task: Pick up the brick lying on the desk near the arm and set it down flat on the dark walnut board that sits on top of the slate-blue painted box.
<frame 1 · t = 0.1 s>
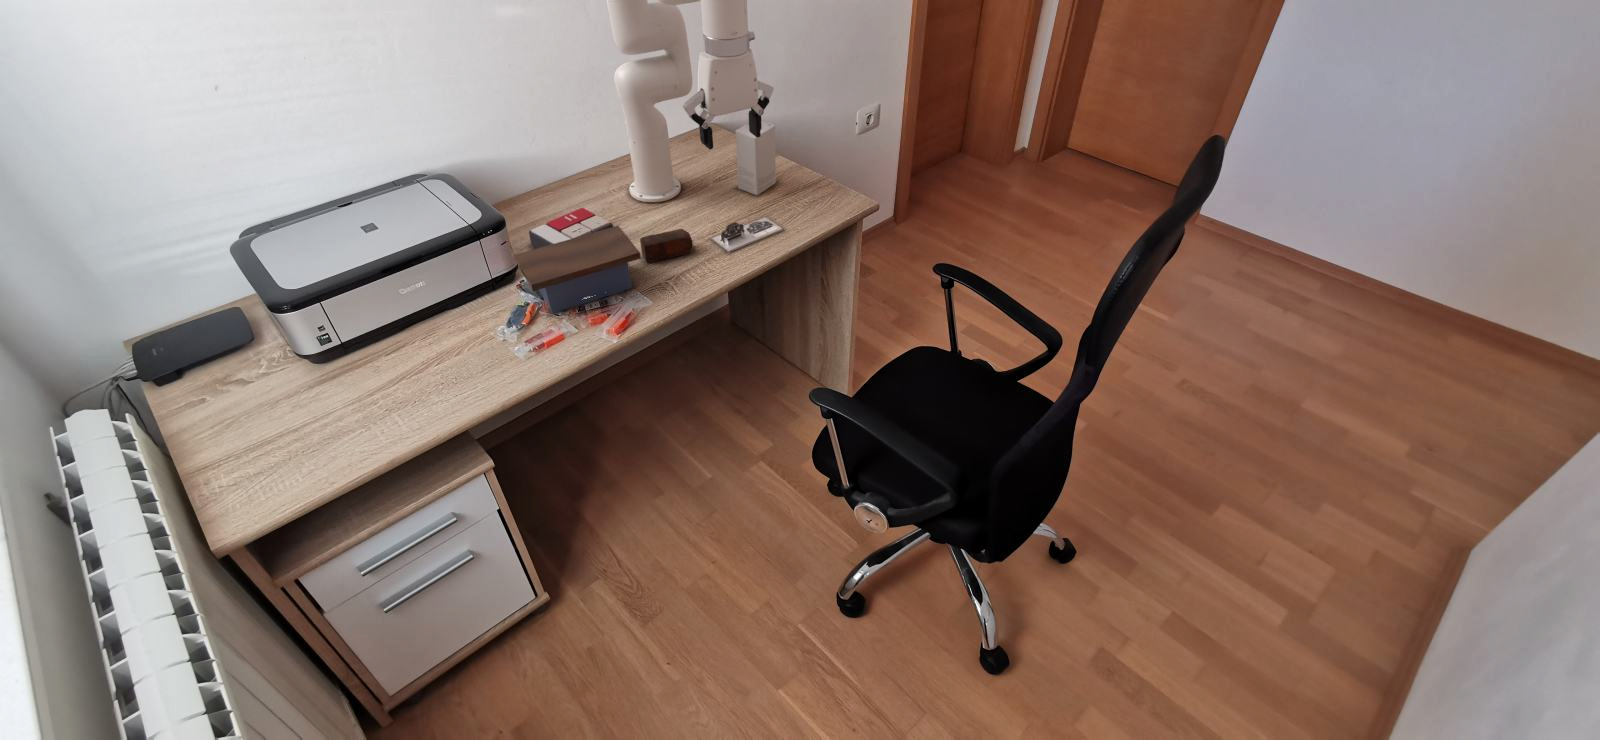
hand: (731, 140, 137), 31 cm above the table, tool pointing down, fingers open, 9 cm apart
cosmetic box: (757, 187, 188), on the table
blue box: (584, 288, 155), on the table
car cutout: (747, 235, 171), on the table
brick: (667, 255, 165), on the table
board: (578, 259, 150), resting on blue box
button pad: (574, 241, 169), on the table
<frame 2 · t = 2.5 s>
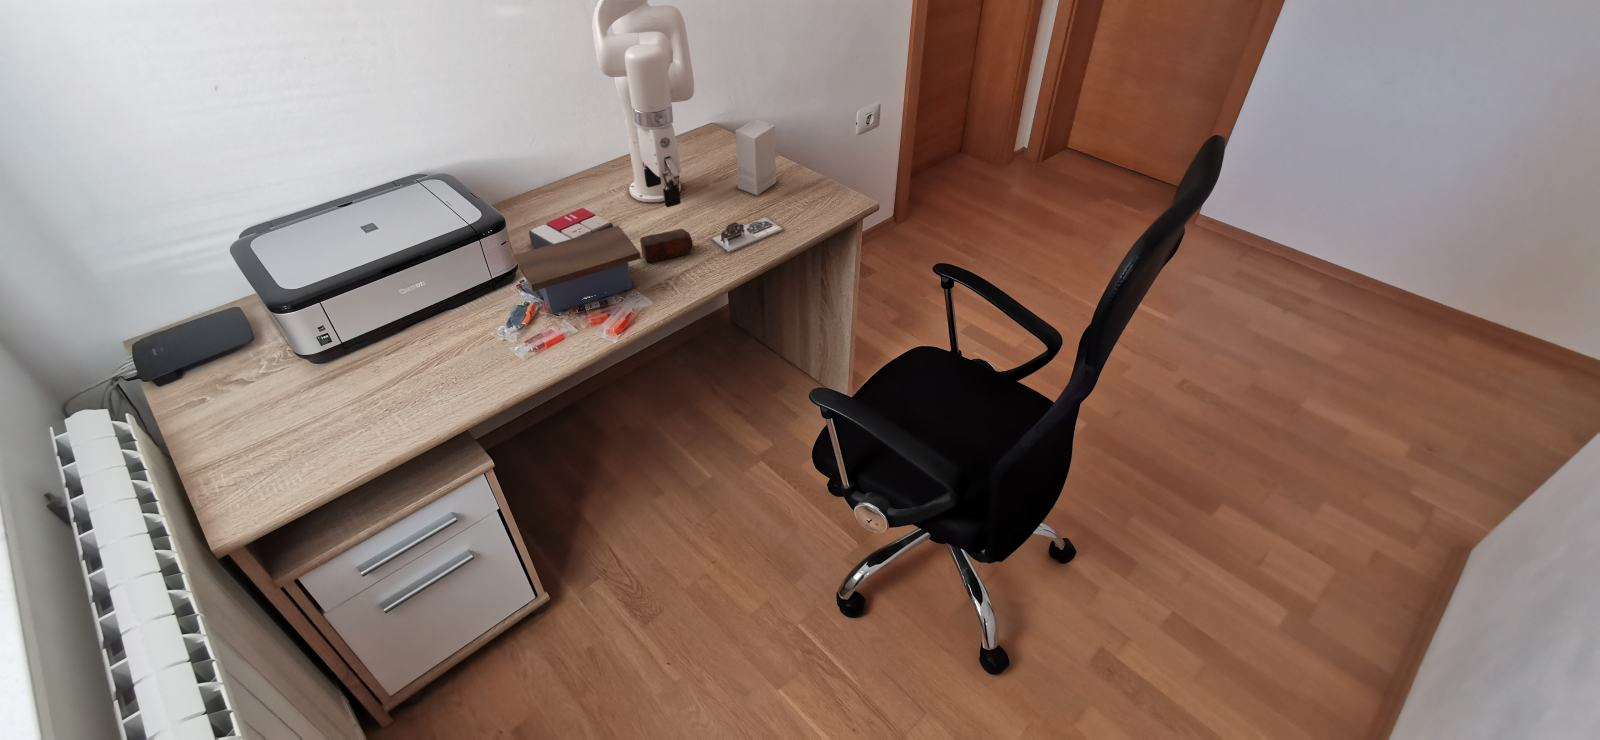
hand: (663, 195, 154), 15 cm above the table, tool pointing down, fingers open, 9 cm apart
nothing on the table moved.
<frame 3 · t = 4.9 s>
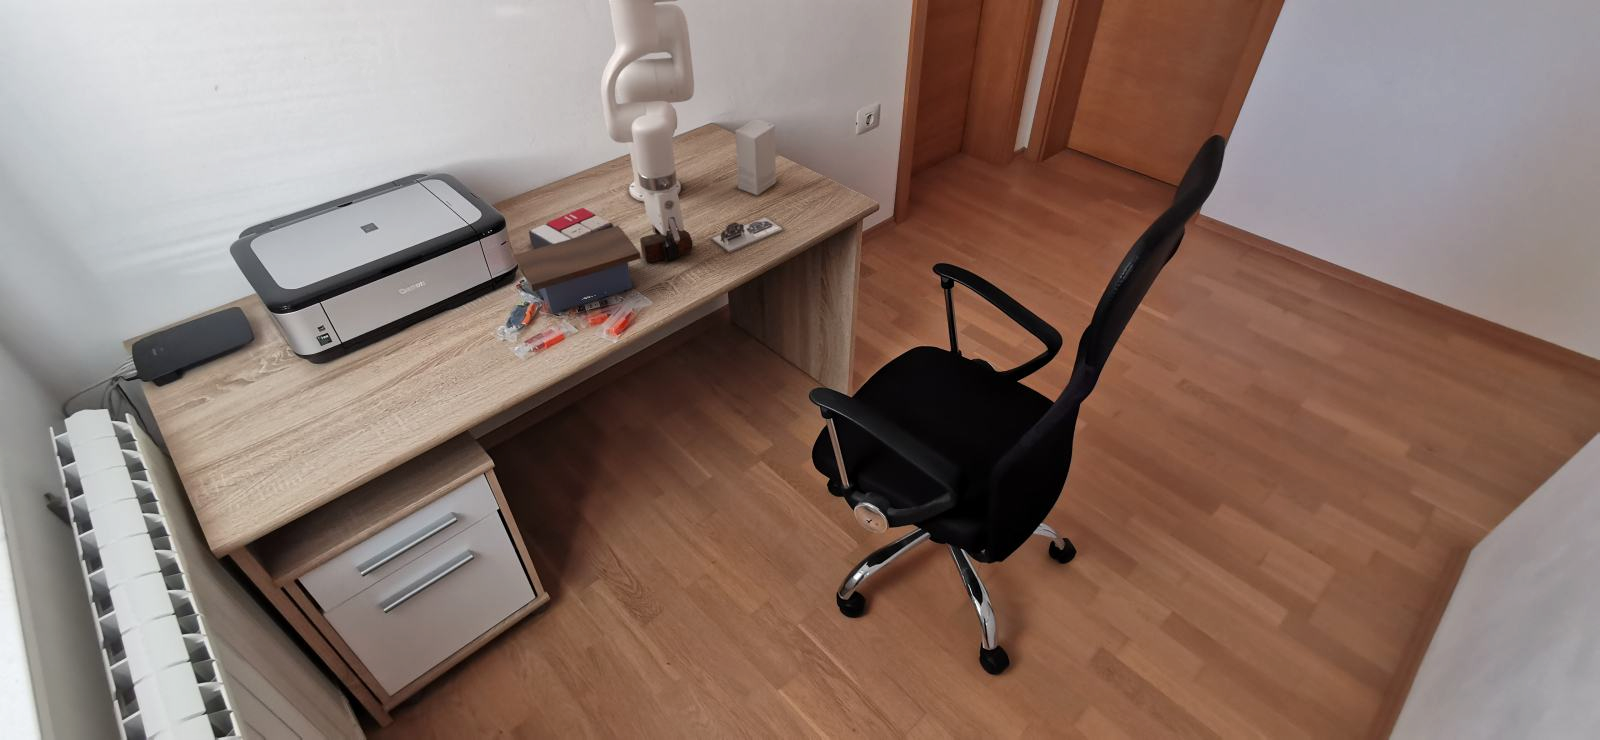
hand: (667, 253, 164), 0 cm above the table, tool pointing down, fingers closed on brick, 4 cm apart
brick: (667, 254, 165), on the table, touching gripper
everything else where it was.
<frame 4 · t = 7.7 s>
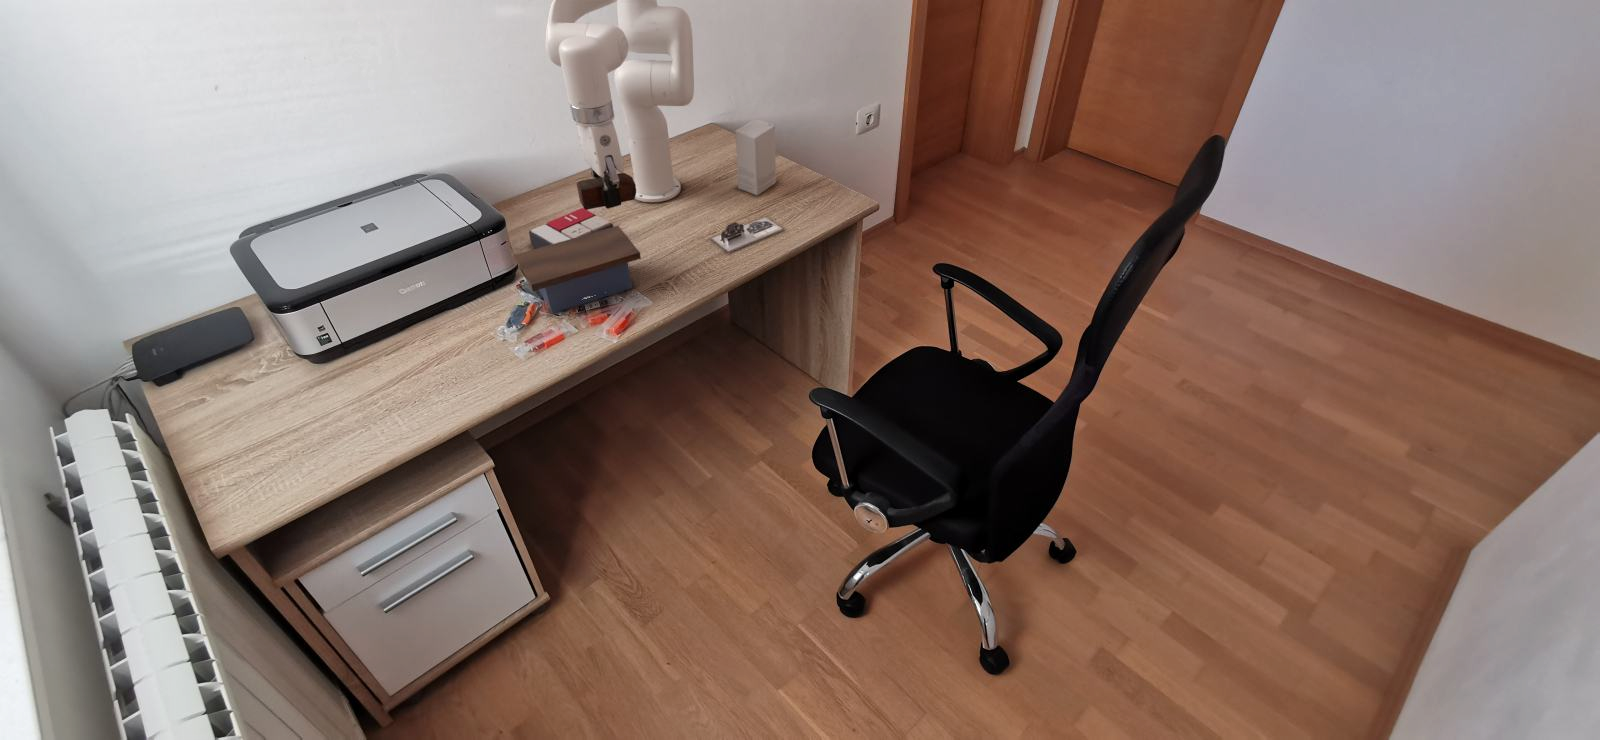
hand: (608, 200, 147), 18 cm above the table, tool pointing down, fingers closed on brick, 4 cm apart
brick: (609, 202, 148), point 17 cm above the table, touching gripper
everything else where it was.
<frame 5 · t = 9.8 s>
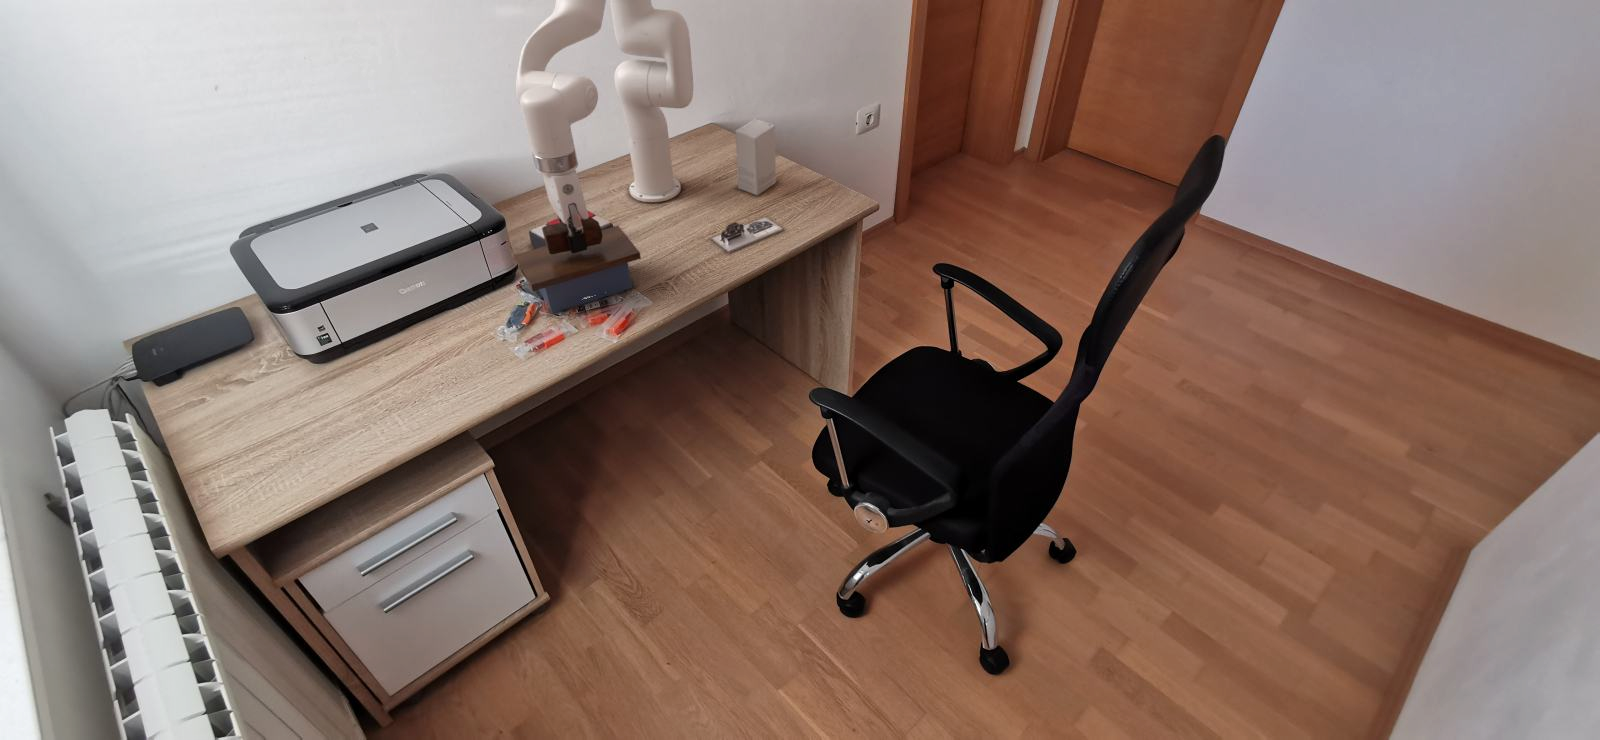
hand: (574, 244, 148), 11 cm above the table, tool pointing down, fingers closed on brick, 4 cm apart
brick: (575, 246, 148), point 10 cm above the table, touching gripper
everything else where it was.
when the fingers open (9 cm above the table, at t = 10.7 s): brick stays where it is, resting on board.
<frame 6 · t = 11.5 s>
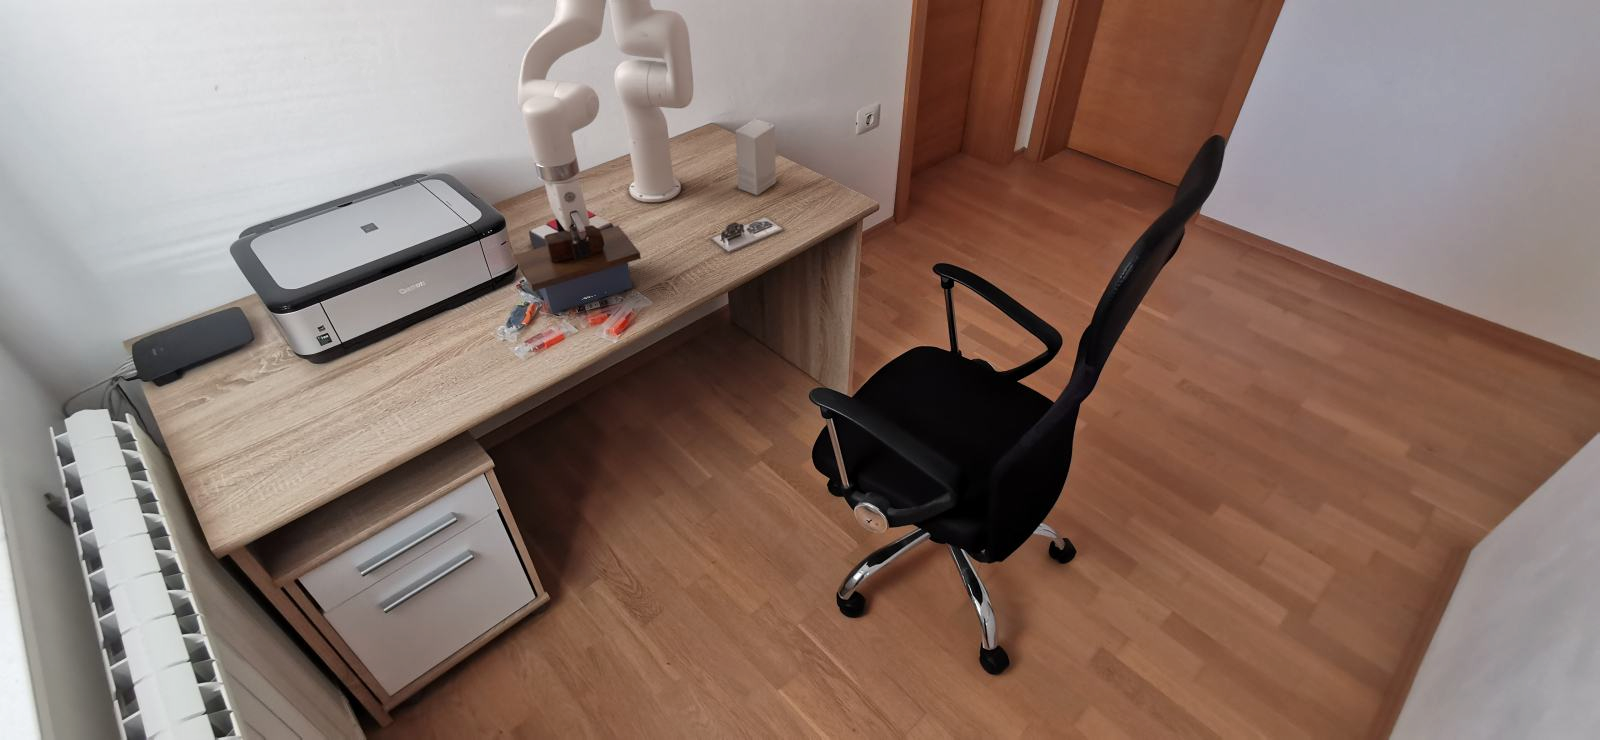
hand: (575, 246, 148), 10 cm above the table, tool pointing down, fingers open, 9 cm apart
brick: (577, 254, 150), point 8 cm above the table, touching board
everything else where it was.
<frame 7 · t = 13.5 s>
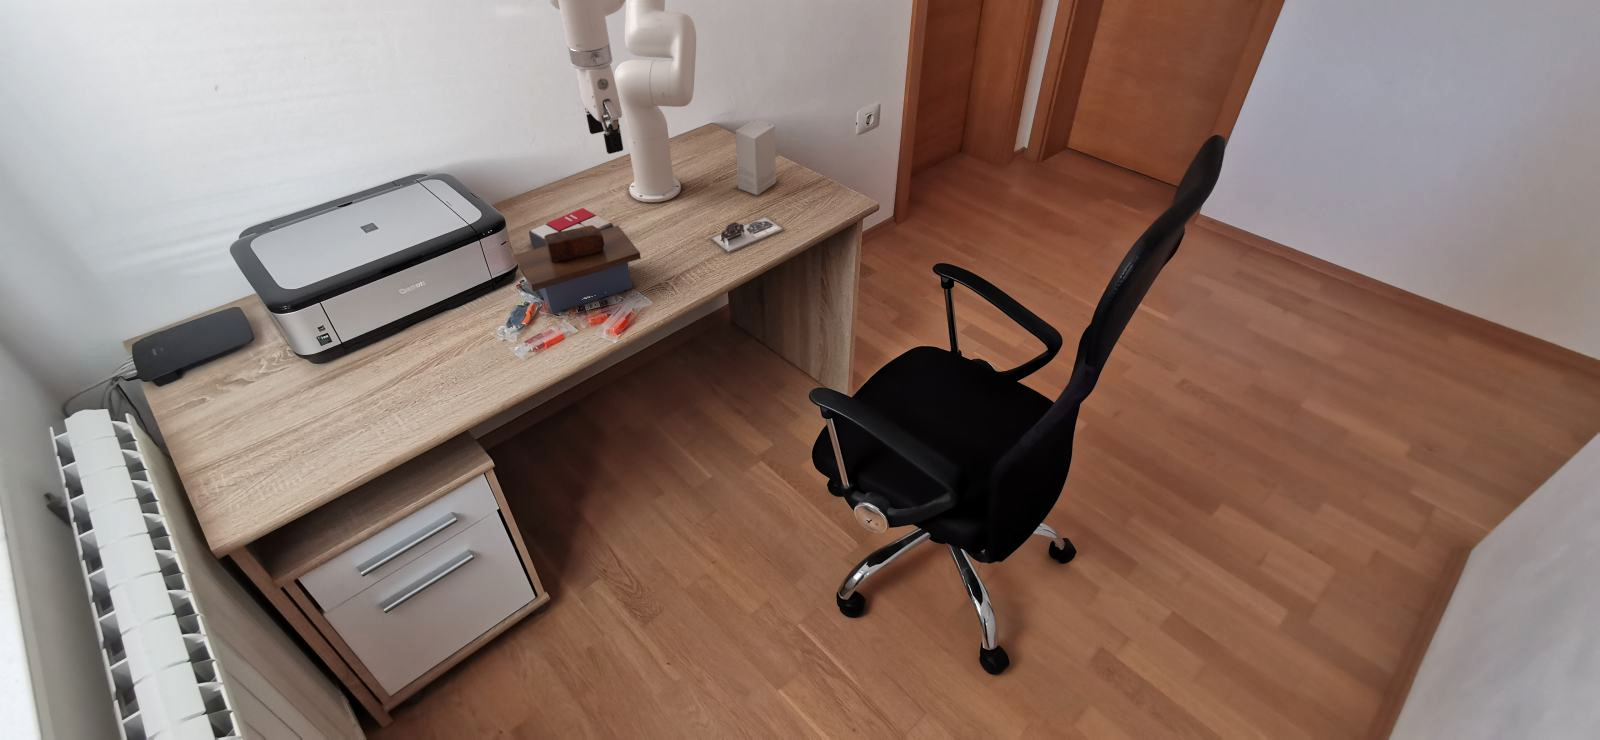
hand: (606, 141, 148), 26 cm above the table, tool pointing down, fingers open, 9 cm apart
nothing on the table moved.
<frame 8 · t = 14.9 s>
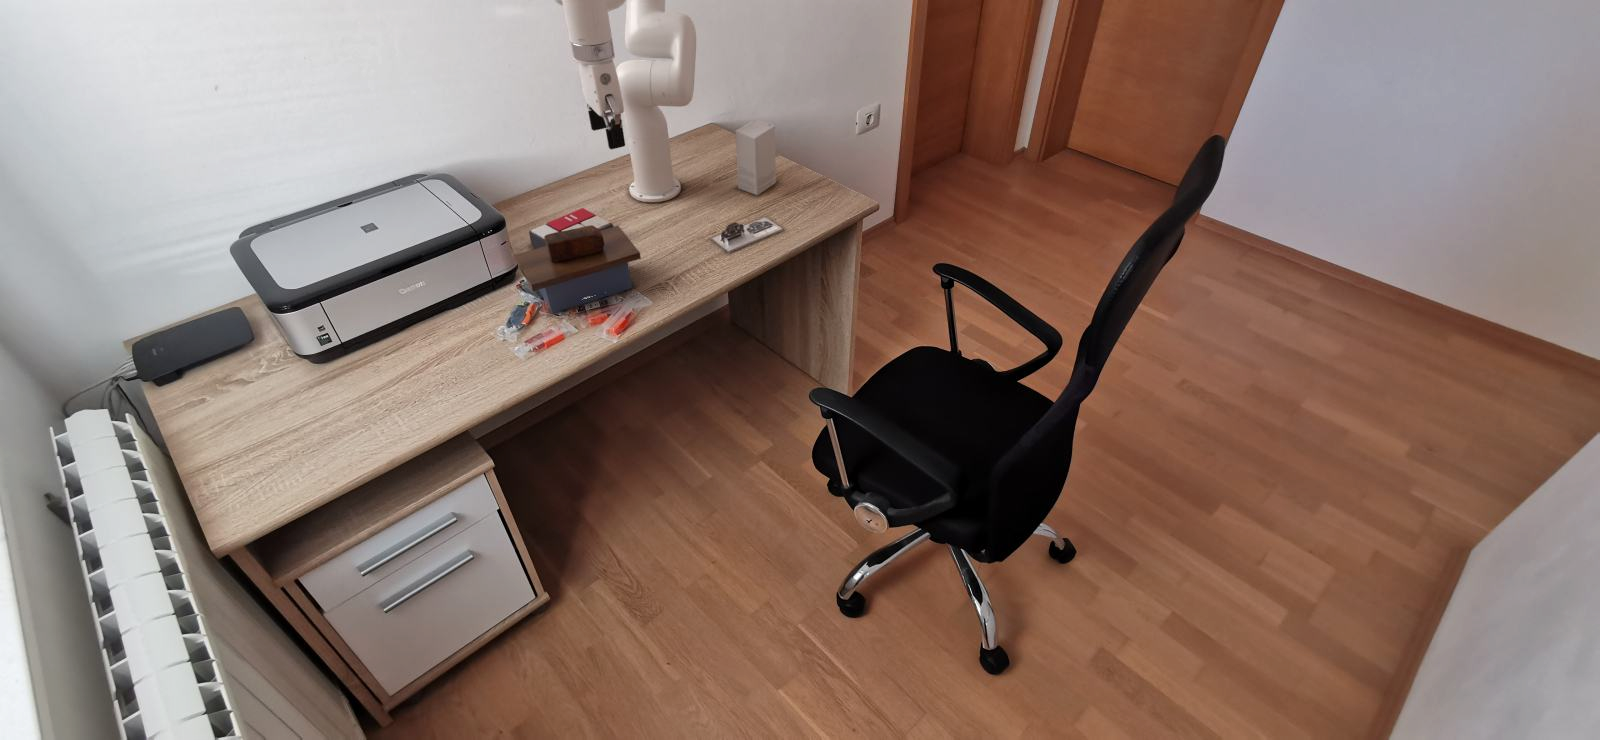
hand: (608, 137, 148), 26 cm above the table, tool pointing down, fingers open, 9 cm apart
nothing on the table moved.
at the end: brick inside the target area on the board (0.1 cm from its centre), point 1.3 cm above the board's base; brick tilted 0°; the gripper is holding nothing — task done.
